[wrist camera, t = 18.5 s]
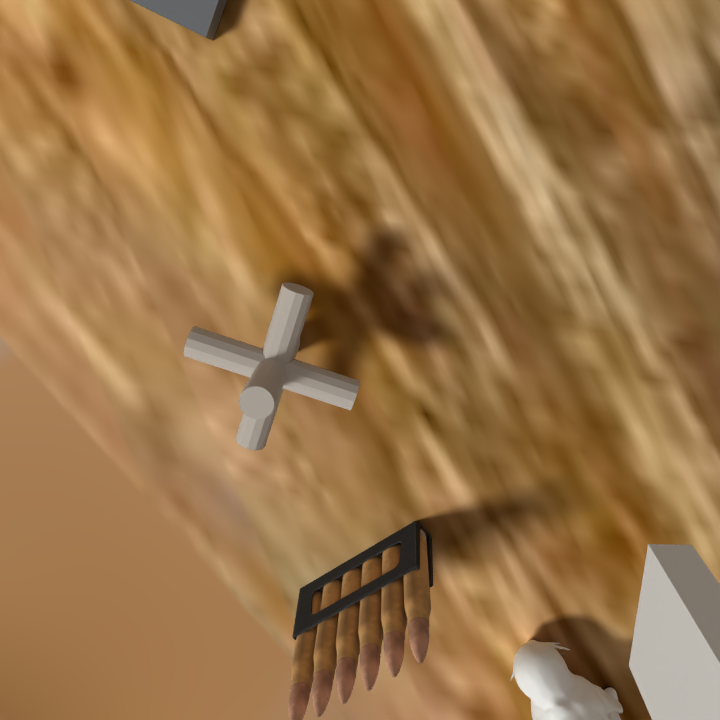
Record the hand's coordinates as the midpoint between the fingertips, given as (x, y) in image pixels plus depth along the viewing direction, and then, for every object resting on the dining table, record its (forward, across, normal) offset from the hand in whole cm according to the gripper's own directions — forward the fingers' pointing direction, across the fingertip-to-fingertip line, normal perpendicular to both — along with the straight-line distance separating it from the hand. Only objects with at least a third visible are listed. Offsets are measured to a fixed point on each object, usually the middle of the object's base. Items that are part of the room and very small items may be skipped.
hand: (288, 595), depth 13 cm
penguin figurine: (+31, +15, -32) cm, 47 cm away
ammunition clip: (+31, 0, -22) cm, 38 cm away
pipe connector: (+31, -5, -5) cm, 32 cm away
